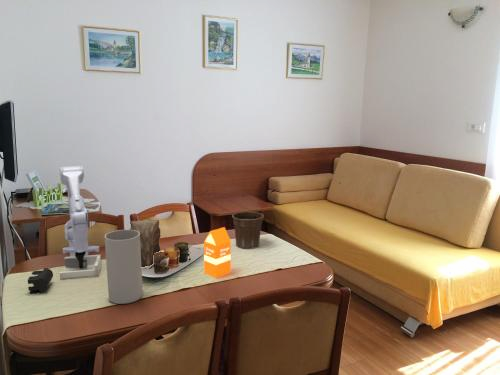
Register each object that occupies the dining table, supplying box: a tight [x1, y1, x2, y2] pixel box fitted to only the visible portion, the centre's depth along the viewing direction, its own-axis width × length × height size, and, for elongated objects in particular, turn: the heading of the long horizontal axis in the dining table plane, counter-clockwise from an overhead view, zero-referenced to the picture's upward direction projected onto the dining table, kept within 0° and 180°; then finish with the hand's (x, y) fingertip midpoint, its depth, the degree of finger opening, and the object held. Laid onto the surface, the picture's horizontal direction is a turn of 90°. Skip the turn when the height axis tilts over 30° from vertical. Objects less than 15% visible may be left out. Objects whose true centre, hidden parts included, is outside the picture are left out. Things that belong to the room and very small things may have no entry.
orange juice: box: [203, 226, 232, 279], centre depth 180 cm, size 8×9×20 cm
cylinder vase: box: [104, 229, 144, 305], centre depth 157 cm, size 12×12×25 cm
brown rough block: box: [129, 218, 161, 267], centre depth 191 cm, size 13×13×20 cm
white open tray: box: [59, 254, 102, 281], centre depth 181 cm, size 13×15×5 cm
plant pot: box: [231, 211, 264, 250], centre depth 216 cm, size 16×16×16 cm
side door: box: [64, 257, 87, 268], centre depth 183 cm, size 10×2×4 cm, turn 86°
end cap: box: [27, 267, 54, 295], centre depth 165 cm, size 10×7×7 cm
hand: (82, 267), depth 182 cm, fingers closed, pressing on side door
